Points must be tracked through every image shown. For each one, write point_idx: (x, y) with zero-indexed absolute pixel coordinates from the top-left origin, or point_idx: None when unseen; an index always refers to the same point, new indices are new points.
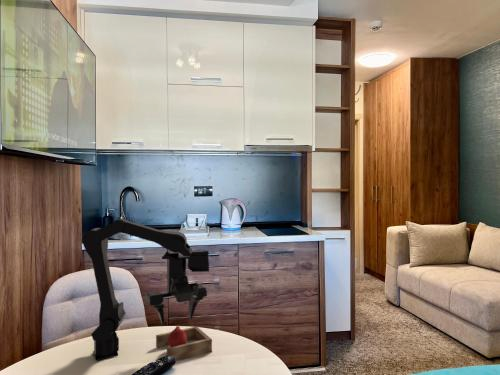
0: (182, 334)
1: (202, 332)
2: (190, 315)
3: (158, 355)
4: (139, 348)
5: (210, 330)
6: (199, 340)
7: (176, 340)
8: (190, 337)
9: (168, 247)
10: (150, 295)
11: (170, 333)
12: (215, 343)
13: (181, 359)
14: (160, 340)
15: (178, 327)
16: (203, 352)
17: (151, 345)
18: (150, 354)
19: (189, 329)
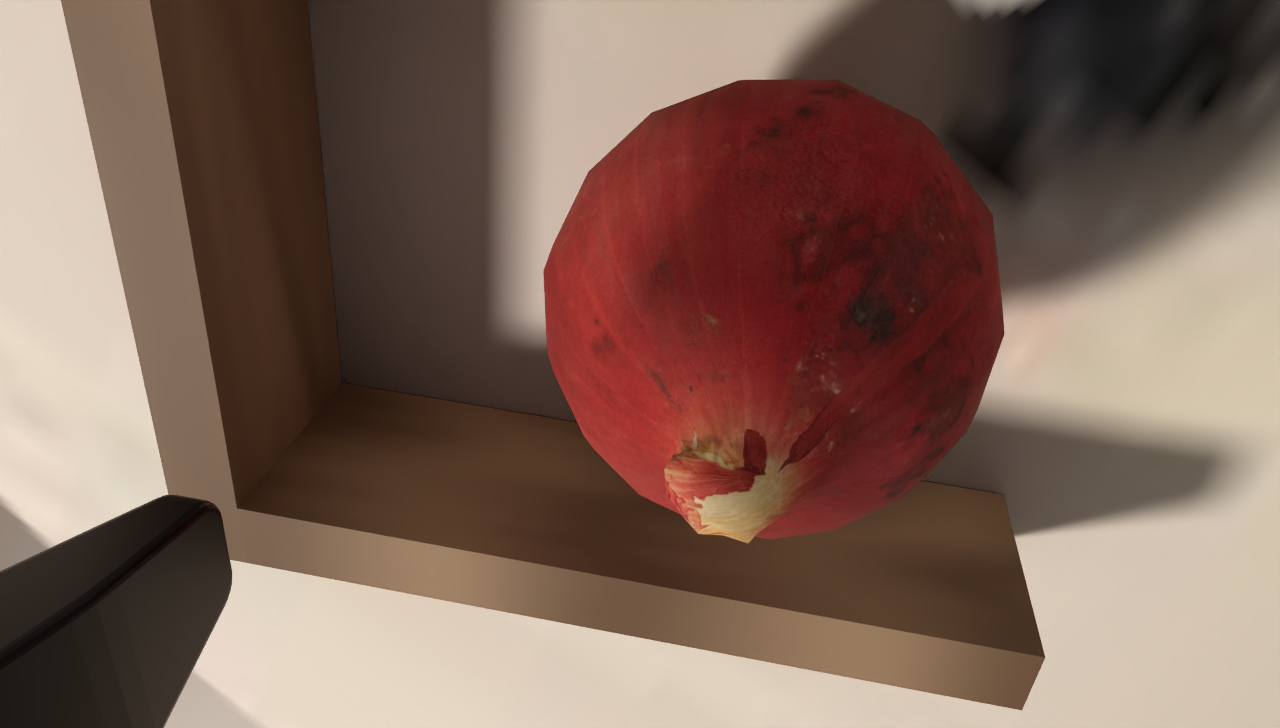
0: (689, 219)
1: (138, 237)
2: (133, 602)
3: (1148, 275)
4: (1202, 663)
5: (31, 493)
6: (290, 215)
7: (903, 159)
8: (394, 427)
9: None
10: None
11: (916, 474)
12: (46, 35)
13: None
14: (958, 574)
15: (723, 456)
16: None
17: None
18: (1225, 396)
19: (349, 526)
